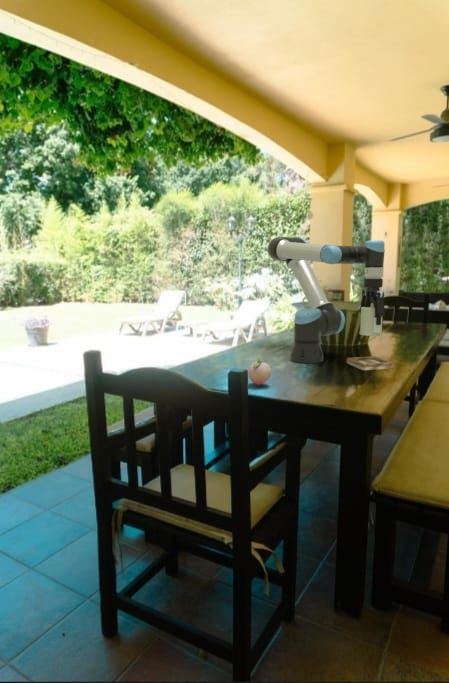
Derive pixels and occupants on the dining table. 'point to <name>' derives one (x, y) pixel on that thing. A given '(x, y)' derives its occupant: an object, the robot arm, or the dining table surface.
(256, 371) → the decorative fruit
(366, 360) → the coaster board
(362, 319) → the can
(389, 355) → the dining table surface
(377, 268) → the robot arm
